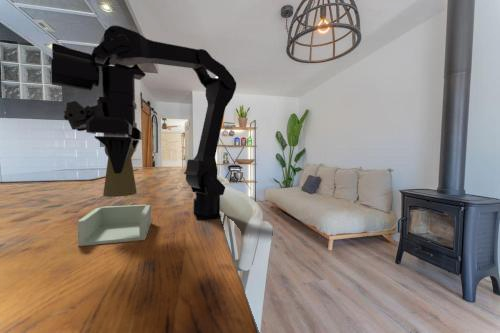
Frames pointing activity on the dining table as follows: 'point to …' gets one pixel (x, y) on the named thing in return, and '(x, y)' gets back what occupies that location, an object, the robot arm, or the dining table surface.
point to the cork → (120, 178)
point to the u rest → (114, 224)
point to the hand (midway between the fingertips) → (120, 172)
